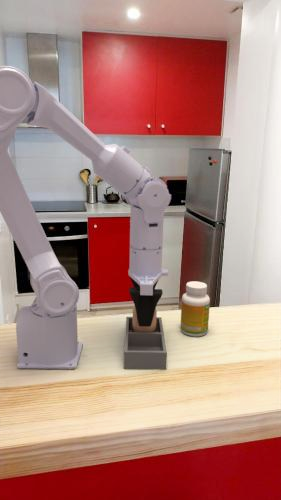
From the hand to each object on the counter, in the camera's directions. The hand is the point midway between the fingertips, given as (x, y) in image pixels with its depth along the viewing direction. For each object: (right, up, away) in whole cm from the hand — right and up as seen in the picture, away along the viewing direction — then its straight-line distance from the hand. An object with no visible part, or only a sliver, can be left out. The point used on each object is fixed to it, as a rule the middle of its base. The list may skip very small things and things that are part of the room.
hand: (144, 317), depth 66 cm
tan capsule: (0, -4, +1) cm, 4 cm away
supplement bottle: (+10, -4, +5) cm, 12 cm away
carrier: (0, -5, -2) cm, 5 cm away
